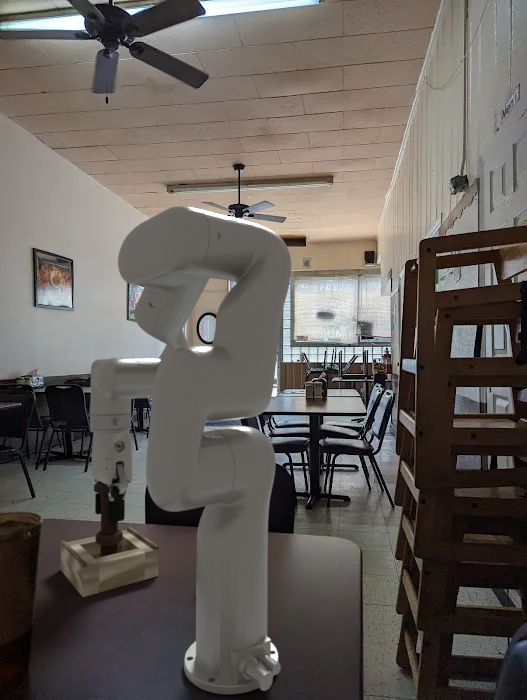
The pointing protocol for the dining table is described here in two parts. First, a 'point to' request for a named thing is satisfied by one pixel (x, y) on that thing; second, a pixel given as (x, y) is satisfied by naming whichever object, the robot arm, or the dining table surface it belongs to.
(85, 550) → the socket
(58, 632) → the dining table surface
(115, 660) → the dining table surface
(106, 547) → the bolt
